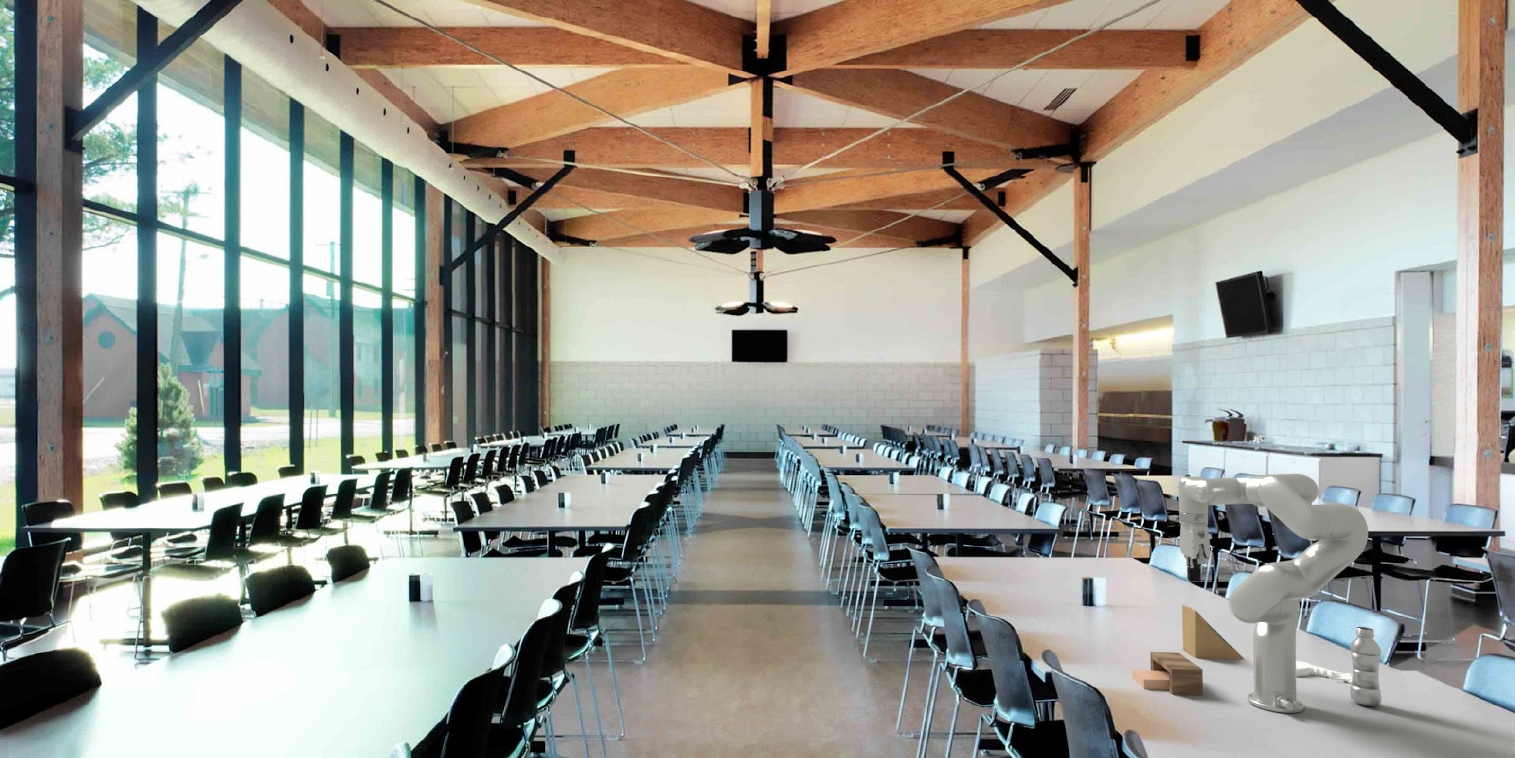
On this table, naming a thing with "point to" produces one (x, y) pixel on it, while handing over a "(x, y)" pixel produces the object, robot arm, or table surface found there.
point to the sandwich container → (1204, 638)
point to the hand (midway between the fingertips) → (1194, 580)
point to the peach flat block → (1152, 679)
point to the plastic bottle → (1365, 668)
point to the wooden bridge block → (1179, 673)
